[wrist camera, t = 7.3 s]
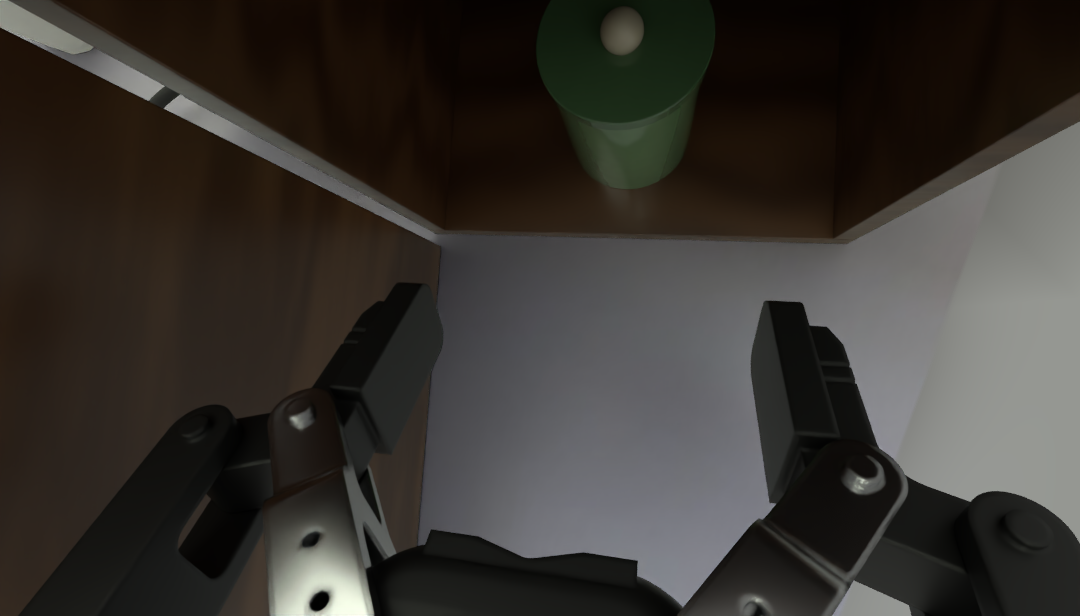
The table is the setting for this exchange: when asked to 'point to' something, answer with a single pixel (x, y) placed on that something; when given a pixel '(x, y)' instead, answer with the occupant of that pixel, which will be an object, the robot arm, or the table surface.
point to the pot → (626, 81)
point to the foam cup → (38, 29)
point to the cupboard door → (162, 304)
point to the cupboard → (538, 130)
